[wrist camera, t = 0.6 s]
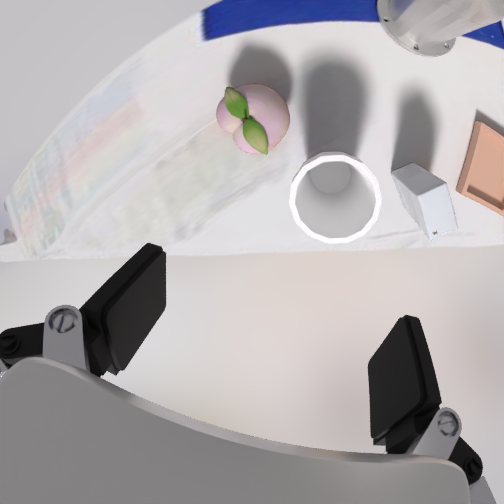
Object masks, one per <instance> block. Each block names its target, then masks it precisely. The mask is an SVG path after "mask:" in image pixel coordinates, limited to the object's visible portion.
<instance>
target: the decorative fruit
mask: <svg viewBox="0 0 504 504" xmlns="http://www.w3.org/2000/svg"><path fill="white" fill-rule="evenodd" d="M216 116H217V121H218V123H219V125H220V126H221V127H222V128H223V129H224V130H225V131H227V132H229V133H231V134H232V135H233V139H234V141H235V143H236V145H237V146H238V147H239V148H240V149H241V150H243V151H244V152H246V153H250V154H261V153H263V154H266V155H267V153H268V151H270V150H271V149H273V148H274V147H275V146H276V145H277V144H278V143H279V142H280V141H281V140H282V138H283V137H284V136H285V134H286V132H287V130H288V127H289V123H290V114H289V110H288V107H287V104H286V102H285V101H284V100H283V98H282V97H281V96H280V95H279V94H278V93H277V92H276V91H274V90H273V89H271V88H269V87H267V86H264V85H261V84H246V85H243V86H240V87H238V88H236V89H233V88H231V87H226V90H225V96H224V97H223V99H222V100H221V101H220V103H219V105H218V107H217V112H216Z"/></svg>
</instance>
